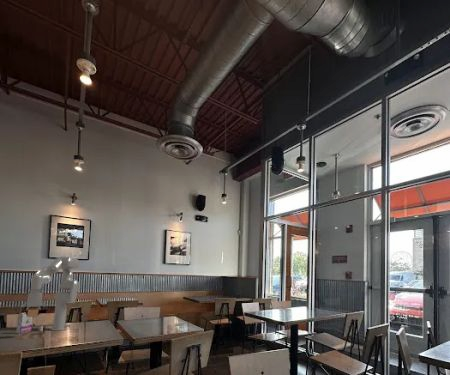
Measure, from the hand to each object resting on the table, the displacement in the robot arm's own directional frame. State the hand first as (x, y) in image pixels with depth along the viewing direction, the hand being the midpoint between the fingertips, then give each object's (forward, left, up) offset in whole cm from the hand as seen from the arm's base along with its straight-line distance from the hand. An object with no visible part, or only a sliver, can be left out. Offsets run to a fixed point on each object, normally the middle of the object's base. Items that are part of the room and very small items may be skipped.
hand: (32, 314), depth 272 cm
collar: (0, 0, -1) cm, 1 cm away
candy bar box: (+6, -20, -17) cm, 27 cm away
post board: (-1, -2, -17) cm, 17 cm away
